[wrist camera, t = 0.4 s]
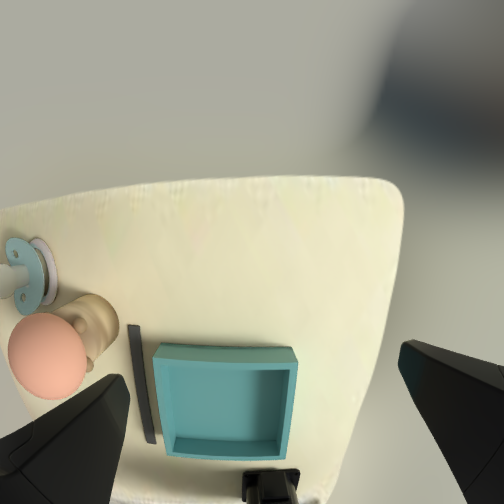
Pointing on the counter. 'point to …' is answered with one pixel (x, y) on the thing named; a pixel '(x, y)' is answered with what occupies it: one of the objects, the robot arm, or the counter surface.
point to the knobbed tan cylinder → (91, 324)
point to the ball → (47, 356)
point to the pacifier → (27, 275)
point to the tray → (225, 400)
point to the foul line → (141, 382)
